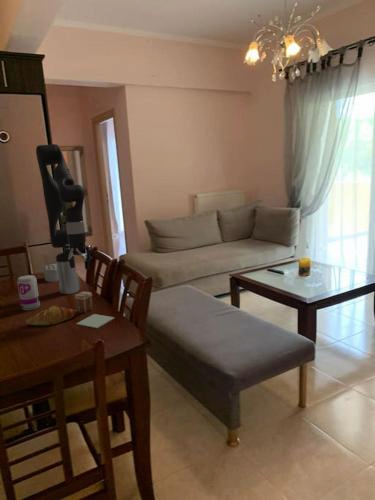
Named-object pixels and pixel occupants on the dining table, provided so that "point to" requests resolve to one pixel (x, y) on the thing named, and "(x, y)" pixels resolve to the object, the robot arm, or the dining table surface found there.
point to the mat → (95, 321)
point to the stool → (83, 296)
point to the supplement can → (28, 292)
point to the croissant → (52, 316)
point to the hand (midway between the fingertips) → (80, 268)
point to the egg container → (51, 273)
